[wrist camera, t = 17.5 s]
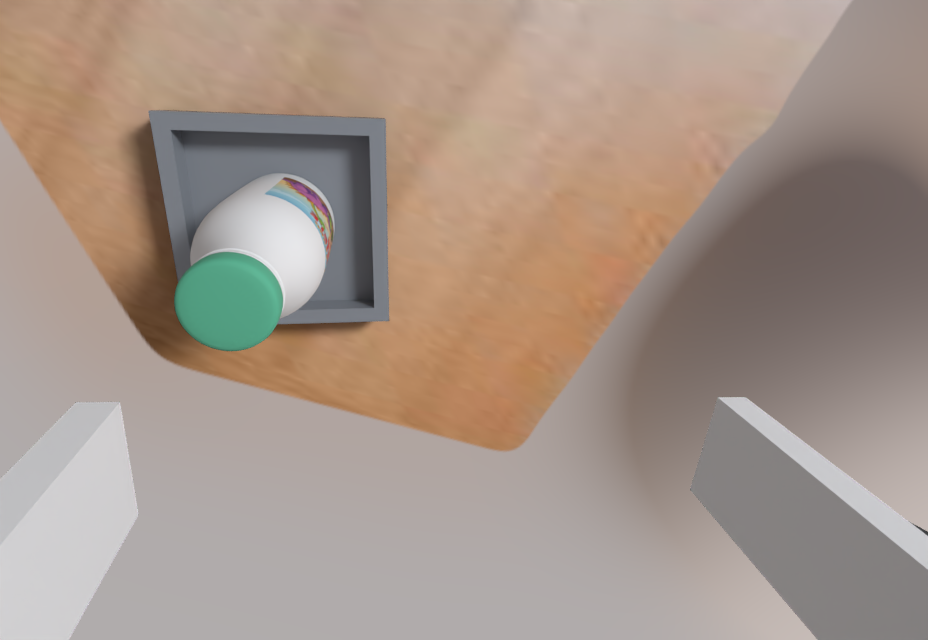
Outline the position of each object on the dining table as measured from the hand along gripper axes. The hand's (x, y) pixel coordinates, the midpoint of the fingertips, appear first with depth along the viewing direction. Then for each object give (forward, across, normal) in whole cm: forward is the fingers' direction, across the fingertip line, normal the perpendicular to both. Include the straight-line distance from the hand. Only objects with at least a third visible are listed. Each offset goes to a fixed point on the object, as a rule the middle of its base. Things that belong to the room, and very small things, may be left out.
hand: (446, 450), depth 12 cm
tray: (+35, -8, -2) cm, 36 cm away
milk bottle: (+34, -8, -2) cm, 35 cm away
